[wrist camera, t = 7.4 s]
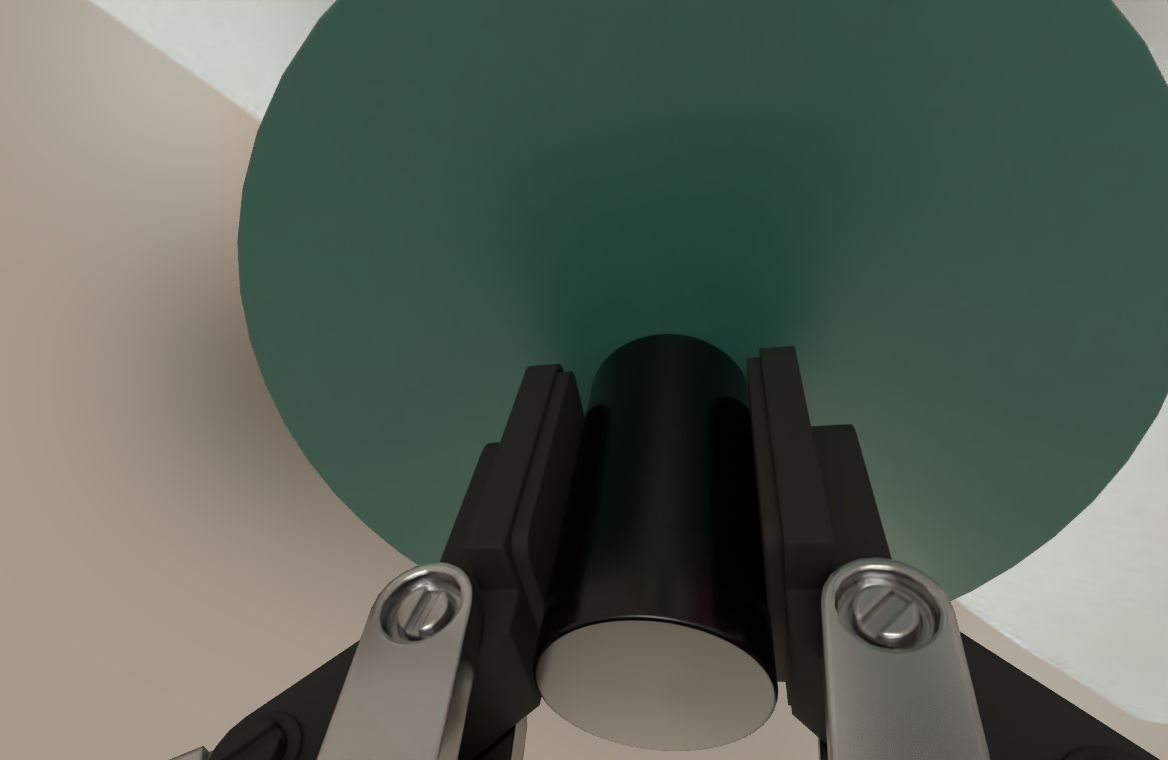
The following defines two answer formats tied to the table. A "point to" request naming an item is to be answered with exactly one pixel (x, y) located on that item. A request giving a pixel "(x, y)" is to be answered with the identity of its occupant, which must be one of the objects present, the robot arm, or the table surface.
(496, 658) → the robot arm
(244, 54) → the table surface
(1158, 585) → the table surface
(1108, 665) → the table surface
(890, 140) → the lid
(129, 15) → the table surface
